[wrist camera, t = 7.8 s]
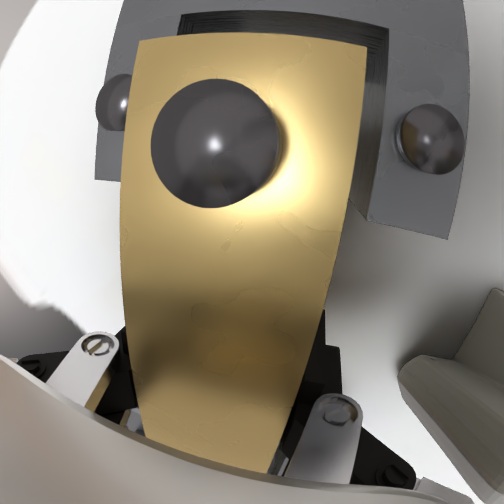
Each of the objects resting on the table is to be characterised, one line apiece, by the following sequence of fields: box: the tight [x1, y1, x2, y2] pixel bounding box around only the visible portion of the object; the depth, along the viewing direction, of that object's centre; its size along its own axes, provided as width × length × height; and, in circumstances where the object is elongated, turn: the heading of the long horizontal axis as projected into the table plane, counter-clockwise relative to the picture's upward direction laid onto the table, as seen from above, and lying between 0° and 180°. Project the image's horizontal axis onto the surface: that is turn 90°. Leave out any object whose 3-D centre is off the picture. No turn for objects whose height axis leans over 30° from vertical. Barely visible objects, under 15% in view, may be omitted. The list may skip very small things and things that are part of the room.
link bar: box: [120, 32, 367, 474], centre depth 8 cm, size 4×17×6 cm, turn 173°
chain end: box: [95, 0, 469, 240], centre depth 8 cm, size 10×8×6 cm
